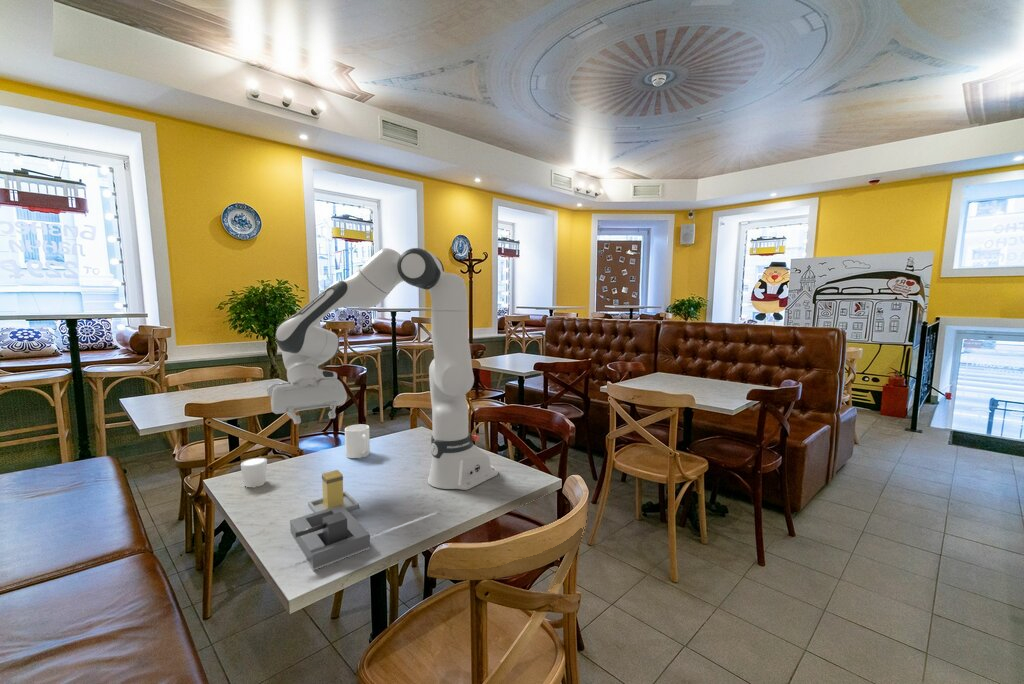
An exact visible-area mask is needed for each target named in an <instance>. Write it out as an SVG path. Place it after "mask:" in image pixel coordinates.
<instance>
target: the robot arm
mask: <svg viewBox="0 0 1024 684" xmlns="http://www.w3.org/2000/svg"><path fill="white" fill-rule="evenodd" d="M402 282H405V283H406V284H408V285H410V286H412V287H416V288H420V289H423V290H425V291H428V293H429V295H430V300H431V301H430V303H431V305H430V307H431V309H430V311H431V313H430V314H431V316H430V318H431V320H430V321H431V325H430V326H431V327H430V328H431V341H432V348H433V359H432V360H431V362H430V364H429V367H428V375H429V376H428V379H429V380H428V381H429V390H430V393H429V394H430V402H431V412H432V414H431V418H432V420H431V421H432V435H431V437H430V445H431V446H430V448H431V462H430V463H431V464H430V469H429V474H428V477H427V483H428V484H429V485H430V486H432V487H434V488H437V489H440V490H442V489H444V490H462V491H463V490H464V491H467V490H468V491H469V490H470V489H473V488H474V487H475V486H479V484H482V483H484V482H486V481H488V480H490V479H492V478H494V477H496V476H498V473H499V472H498V470H497V468H496V467H495V466H493V465H492V464H491V460H490V459H491V458H490V457H489V454H488V453H486V452H485V451H484V450H483V449H481V448H480V447H478V446H477V445H475V444H474V442H475V443H478V442H479V441H480V436H479V435H477V434H472V433H469V407H468V403H467V395H466V394H467V393H468V392H470V391H471V389H472V388H473V386H474V383H475V376H474V372H473V364H472V363H473V361H472V354H471V346H470V340H469V339H470V338H469V301H468V292H467V285H466V282H465V280H464V278H463V277H461V276H460V275H458V274H456V273H450V272H445V268H444V265H443V263H442V261H441V260H440V259H439V257H437V256H436V255H435V254H434V253H432V252H431V251H429V250H426V249H423V248H419V247H413V248H412V247H411V248H409V249H407V250H405V251H404V252H402V254H400V253H399V252H398V251H396V250H394V249H392V248H389V247H388V248H387V247H384V248H382V249H380V250H379V251H377V252H376V253H374V254H373V255H372V256H370V258H368V260H366V262H365V263H363V265H361V267H360V268H358V270H356V272H355V273H353V274H352V275H350V276H349V277H347V278H345V279H342V280H340V281H335V282H332V283H331V284H330V285H328V286H327V287H326V288H325V289H323V290H322V291H321V292H319V294H317V295H316V296H315V297H314V298H313V299H312V300H310V301H309V302H308V303H307V304H306V305H304V306H303V307H302V308H301V309H300V310H299V311H297V312H295V314H293V315H291V316H290V317H288V318H286V319H284V321H282V322H281V323H280V324H279V325H278V326H277V328H276V331H275V341H276V344H277V346H278V347H279V348H280V350H281V355H282V361H283V364H284V368H285V370H286V378H287V382H280V383H272V384H271V385H269V386H268V387H267V389H266V391H267V395H268V397H269V398H270V407H271V412H272V413H274V414H275V415H279V414H285V413H286V414H287V416H288V417H289V418H290V419H291V420H293V423H294V424H293V425H298V424H301V422H302V419H301V414H300V415H297V414H296V413H295V412H300V411H307V410H315V409H321V408H323V409H324V408H329V407H330V410H329V412H328V413H327V415H328V418H329V419H335V418H336V416H337V414H336V408H337V406H343V405H345V403H346V401H347V399H348V394H347V391H346V388H345V386H344V384H343V382H342V381H340V379H338V373H337V372H336V371H333V370H332V371H331V370H327V369H326V370H325V369H321V368H319V366H322V365H323V364H325V363H327V362H329V361H330V360H332V359H333V358H334V357H336V355H337V354H338V352H339V349H340V338H339V336H338V335H337V334H336V333H335V332H333V331H332V330H329V329H326V328H323V327H320V326H317V325H316V324H318V323H319V322H320V321H321V320H323V319H324V318H325V317H326V316H327V315H329V314H330V313H331V312H332V311H333V310H336V309H340V308H359V309H368V308H373V307H376V306H378V305H379V304H381V303H382V302H383V301H385V299H386V298H387V297H388V295H389V294H390V293H391V292H392V291H393V290H394V289H395V288H396V286H398V285H399V284H400V283H402Z"/></svg>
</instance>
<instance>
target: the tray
mask: <svg viewBox="0 0 1024 684" xmlns="http://www.w3.org/2000/svg"><path fill="white" fill-rule="evenodd" d="M343 502H344V508H345V509H346V510H347V511H348V512H350V511H353V510H357V509H359V508H360V504H359V503H358V502H357V500H355V498H354V497H352V496H351V495H350V494H349V493H348V492H347V491H346V490H344V491H343ZM307 506H308V507H309V509H310V510H311V511H312V512H313V513H315V512H319V511H322V510H325V509H326V508H325V507H324V506H323V497H321V498H318V499H314V500H310V501H308V502H307Z"/></svg>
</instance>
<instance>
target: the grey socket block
mask: <svg viewBox="0 0 1024 684" xmlns="http://www.w3.org/2000/svg"><path fill="white" fill-rule="evenodd" d="M289 525H290V526H289V528H290V534H291V536H292V537H293V538H294V541H295V542H296V544H297V545H298V547H299V549H300V550H301V552H302V553H303V555H304V557H305V558H306V562H307V561H308V562H307V564H308V565H309V566H310V568H311V569H313V570H314V571H316V570H315V569H317V570H319V569H318V568H320V569H321V567H322V568H324V567H323V566H325V567H327V566H330V565H332V564H334V562H335V563H337V562H336V561H338V562H340V561H342V560H341V559H343V560H345V559H347V558H346V557H348V556H350V557H352V556H351V555H353V556H355V555H358V554H360V553H359V552H361V553H363V552H366V551H368V550H370V549H371V536H370V535H371V534H370V533H369V531H368V530H366V528H365V527H364V526H362V524H361V523H360V522H359V521H358V520H357V519H356V518H355V517H354V516H353V515H352V513H350V511H347V510H346V509H345V508H344V507H343V505H338V506H335V507H332V508H328V509H325V510H322V511H319V512H315V513H314V512H313V513H309V514H306V515H302V516H299V517H296V518H293V519H290V520H289ZM365 550H366V551H365ZM362 551H363V552H362ZM357 553H358V554H357ZM354 554H355V555H354ZM344 558H345V559H344ZM348 558H349V557H348ZM339 560H340V561H339ZM329 564H330V565H329ZM326 565H327V566H326ZM313 570H312V571H313Z"/></svg>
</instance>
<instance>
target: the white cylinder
mask: <svg viewBox="0 0 1024 684" xmlns="http://www.w3.org/2000/svg"><path fill="white" fill-rule="evenodd" d="M267 464H268V459H267V458H266V457H252V458H249V459H246V460H243V461H242V462H241V463H240V471H241V475H242V480H243V481H242V482H243V486H244V487H245V486H246V487H245V488H247V487H253V488H257V487H256V486H258V487H261V486H263V485H265V484H266V482H267V470H268V469H267V467H268V465H267ZM264 483H265V484H264ZM260 485H261V486H260Z"/></svg>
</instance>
